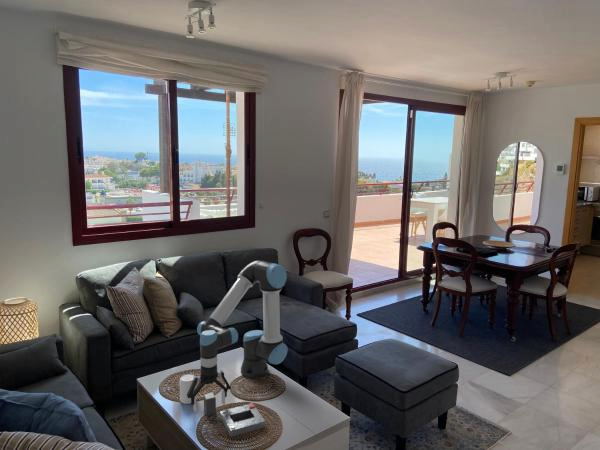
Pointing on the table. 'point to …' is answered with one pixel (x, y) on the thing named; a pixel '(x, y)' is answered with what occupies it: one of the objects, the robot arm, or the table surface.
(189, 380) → the white upside-down cup
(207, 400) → the plug
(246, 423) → the socket
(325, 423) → the table surface
